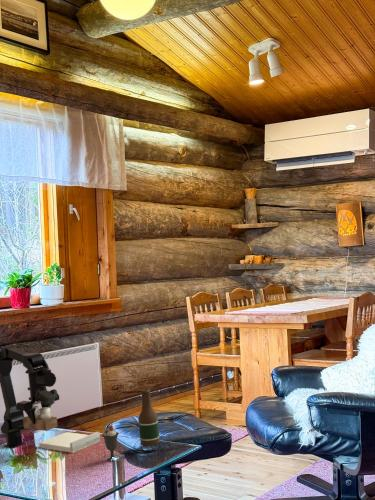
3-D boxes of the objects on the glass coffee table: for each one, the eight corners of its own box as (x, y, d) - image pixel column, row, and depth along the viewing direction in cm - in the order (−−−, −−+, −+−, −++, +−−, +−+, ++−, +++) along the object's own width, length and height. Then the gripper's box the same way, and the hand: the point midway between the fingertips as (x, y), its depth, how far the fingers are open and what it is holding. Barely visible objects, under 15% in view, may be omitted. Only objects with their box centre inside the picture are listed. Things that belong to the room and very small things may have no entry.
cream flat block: (39, 447, 303) (38, 438, 302) (67, 436, 315) (66, 427, 315) (73, 452, 291) (72, 443, 291) (100, 441, 303) (99, 432, 303)
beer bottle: (141, 446, 290) (135, 388, 289) (160, 444, 291) (154, 386, 290) (141, 452, 283) (135, 392, 282) (161, 450, 283) (155, 390, 282)
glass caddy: (23, 427, 296) (21, 408, 296) (35, 423, 301) (33, 404, 301) (46, 430, 288) (44, 411, 287) (57, 426, 292) (55, 407, 292)
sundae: (118, 462, 274) (114, 423, 273) (102, 462, 275) (98, 424, 274) (123, 456, 280) (119, 418, 280) (107, 456, 281) (103, 419, 281)
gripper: (31, 391, 281) (35, 430, 282) (66, 380, 296) (70, 417, 297) (13, 389, 288) (17, 427, 289) (48, 378, 303) (52, 415, 303)
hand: (40, 421), depth 294 cm, fingers closed on glass caddy, 6 cm apart
